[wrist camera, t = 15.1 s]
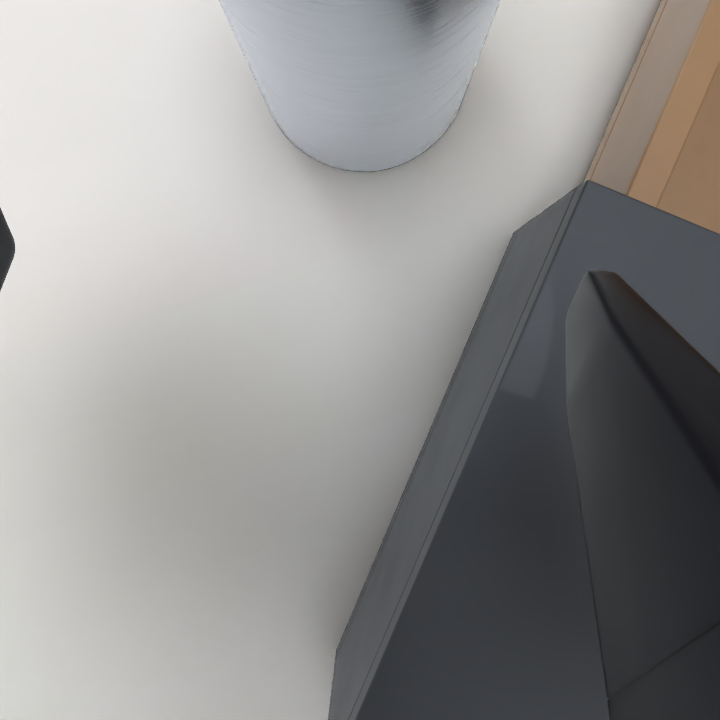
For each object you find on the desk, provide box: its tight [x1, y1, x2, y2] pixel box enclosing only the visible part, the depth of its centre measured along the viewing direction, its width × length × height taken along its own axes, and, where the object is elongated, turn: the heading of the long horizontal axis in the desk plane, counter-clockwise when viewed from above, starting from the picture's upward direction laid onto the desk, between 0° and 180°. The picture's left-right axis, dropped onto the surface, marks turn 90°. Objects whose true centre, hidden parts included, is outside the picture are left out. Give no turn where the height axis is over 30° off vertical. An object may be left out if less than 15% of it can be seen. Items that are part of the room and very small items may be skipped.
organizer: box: [328, 180, 720, 720], centre depth 17 cm, size 15×14×7 cm
